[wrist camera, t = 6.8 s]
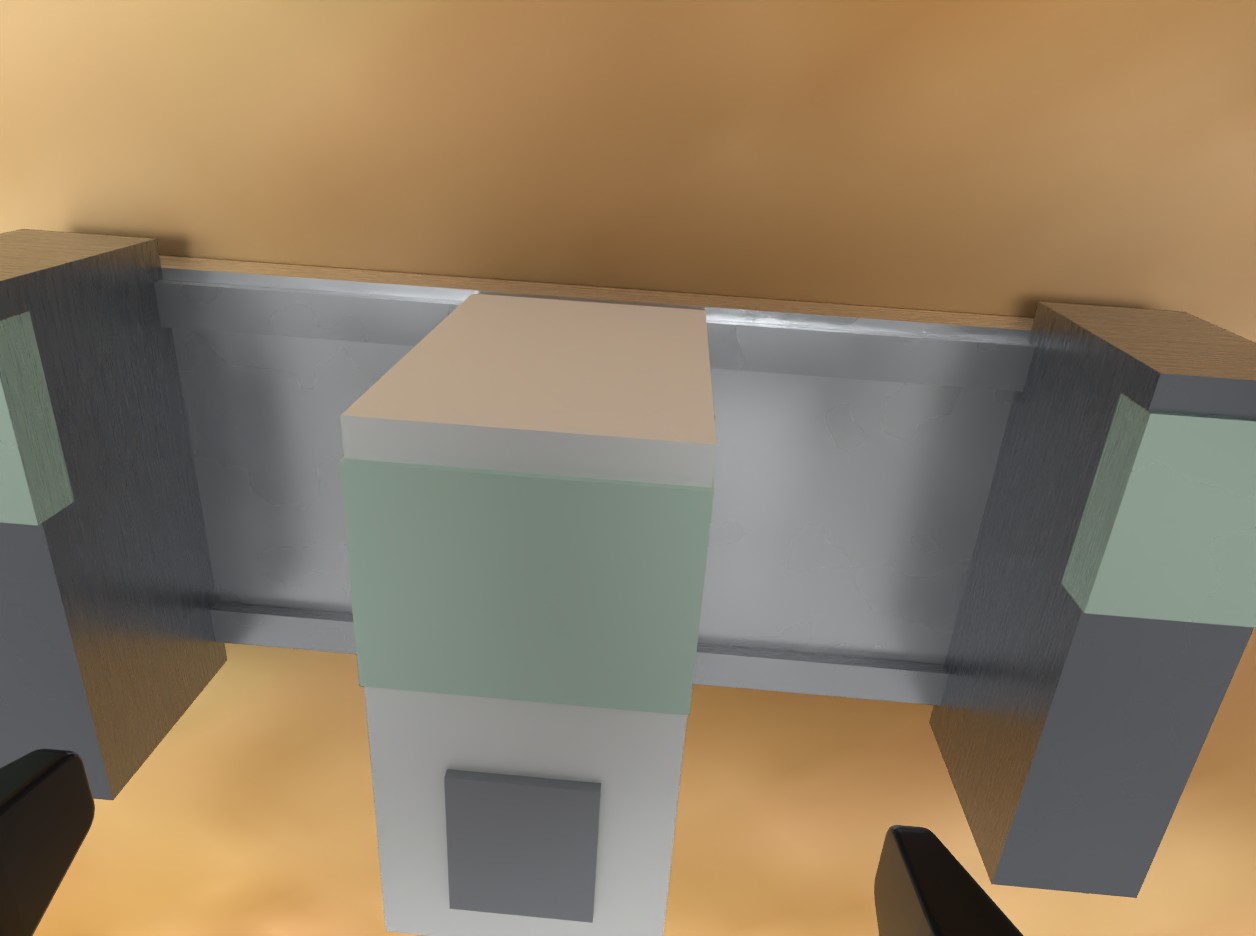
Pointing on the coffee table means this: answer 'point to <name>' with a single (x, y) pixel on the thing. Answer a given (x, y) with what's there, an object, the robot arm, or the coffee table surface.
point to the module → (530, 610)
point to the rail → (739, 531)
